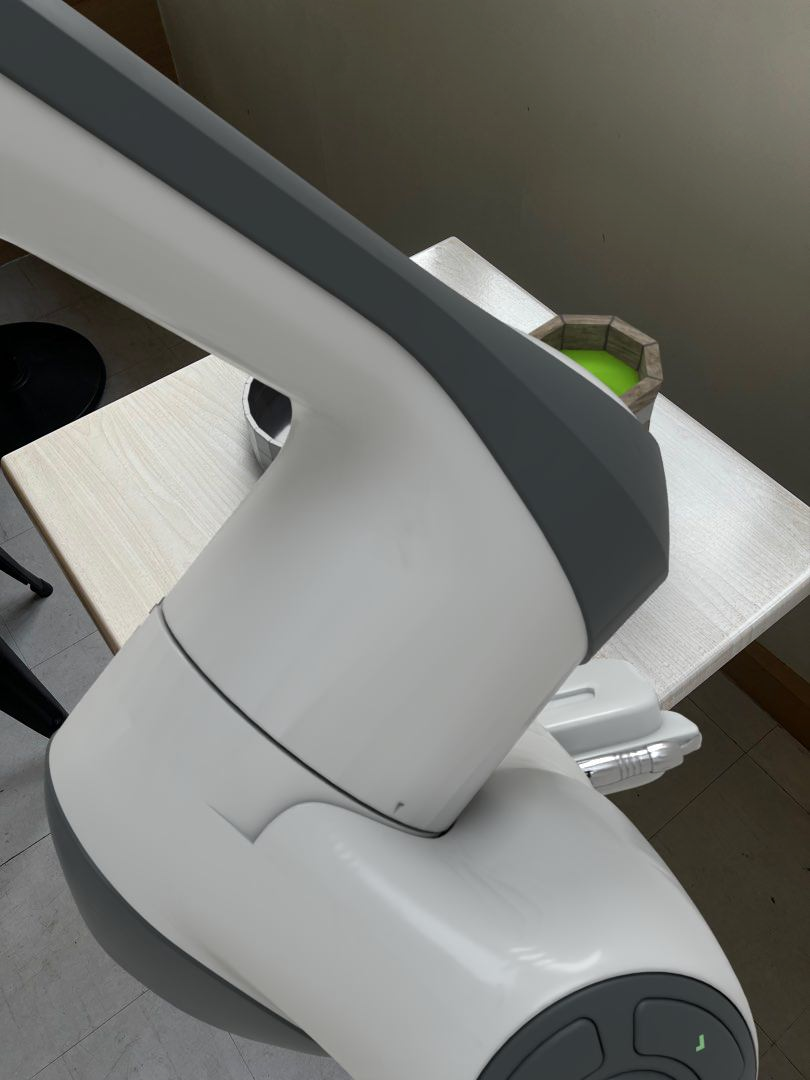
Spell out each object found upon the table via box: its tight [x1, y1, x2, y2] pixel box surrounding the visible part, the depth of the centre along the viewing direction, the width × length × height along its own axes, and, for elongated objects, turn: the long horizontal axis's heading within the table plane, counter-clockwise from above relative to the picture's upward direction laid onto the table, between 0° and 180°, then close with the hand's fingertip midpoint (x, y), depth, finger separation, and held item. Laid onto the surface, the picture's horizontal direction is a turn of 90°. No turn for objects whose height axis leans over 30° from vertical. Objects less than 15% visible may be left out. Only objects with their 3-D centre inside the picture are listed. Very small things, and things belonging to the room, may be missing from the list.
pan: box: [241, 375, 292, 472], centre depth 75 cm, size 15×15×5 cm
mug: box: [527, 314, 664, 432], centre depth 69 cm, size 16×11×12 cm
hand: (410, 704), depth 47 cm, fingers open, 8 cm apart
